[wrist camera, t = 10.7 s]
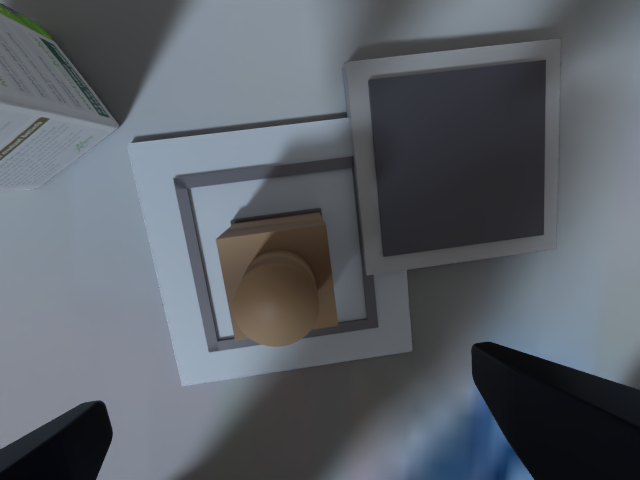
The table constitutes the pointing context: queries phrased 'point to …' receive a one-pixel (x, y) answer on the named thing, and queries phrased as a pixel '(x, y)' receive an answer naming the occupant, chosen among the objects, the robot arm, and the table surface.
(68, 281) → the table surface
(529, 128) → the ink pad
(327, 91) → the table surface
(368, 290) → the board
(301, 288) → the stamp
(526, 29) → the table surface
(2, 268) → the table surface
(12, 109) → the syrup box
